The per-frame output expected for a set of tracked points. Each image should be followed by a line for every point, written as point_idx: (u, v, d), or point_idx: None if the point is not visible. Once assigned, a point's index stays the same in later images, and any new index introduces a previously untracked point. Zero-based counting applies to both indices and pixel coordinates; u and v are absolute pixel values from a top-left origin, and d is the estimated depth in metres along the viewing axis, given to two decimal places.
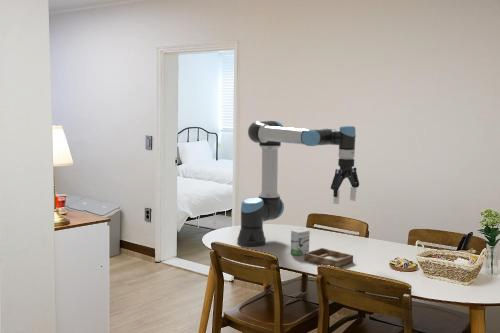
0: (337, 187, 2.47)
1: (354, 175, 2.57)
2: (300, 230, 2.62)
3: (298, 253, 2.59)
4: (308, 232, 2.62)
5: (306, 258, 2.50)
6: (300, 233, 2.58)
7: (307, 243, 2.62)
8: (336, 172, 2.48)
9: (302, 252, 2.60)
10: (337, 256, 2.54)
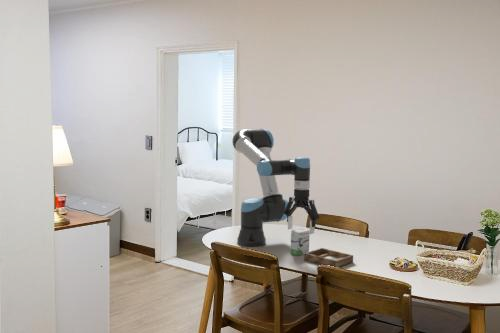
0: (287, 213, 2.65)
1: None
2: (300, 230, 2.62)
3: (298, 253, 2.59)
4: (308, 232, 2.62)
5: (306, 258, 2.50)
6: (300, 233, 2.58)
7: (307, 243, 2.62)
8: None
9: (302, 252, 2.60)
10: (337, 256, 2.54)
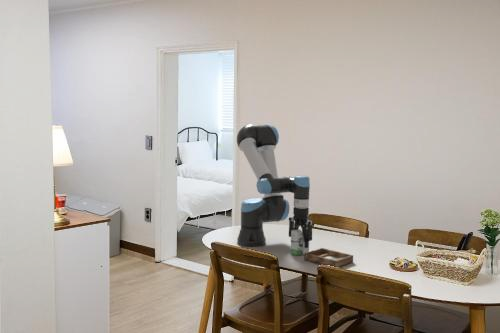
0: None
1: None
2: (300, 230, 2.62)
3: (298, 253, 2.59)
4: None
5: (306, 258, 2.50)
6: (300, 233, 2.58)
7: None
8: None
9: (302, 252, 2.60)
10: (337, 256, 2.54)
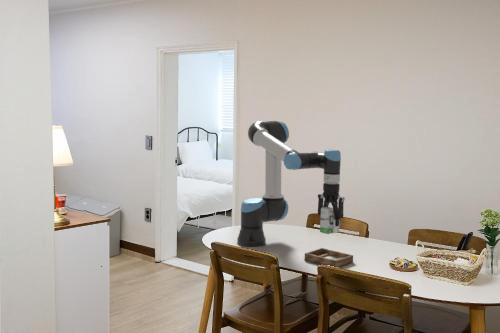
0: None
1: None
2: (330, 207, 2.47)
3: (328, 231, 2.44)
4: None
5: (306, 258, 2.50)
6: (330, 210, 2.44)
7: None
8: None
9: (332, 231, 2.46)
10: (337, 256, 2.54)
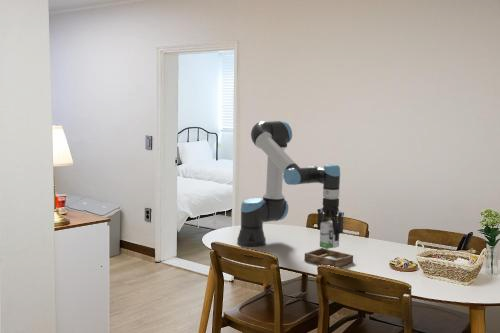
0: None
1: None
2: (330, 222, 2.48)
3: (328, 246, 2.45)
4: None
5: (306, 258, 2.50)
6: (330, 225, 2.45)
7: None
8: None
9: (332, 246, 2.47)
10: (337, 256, 2.54)
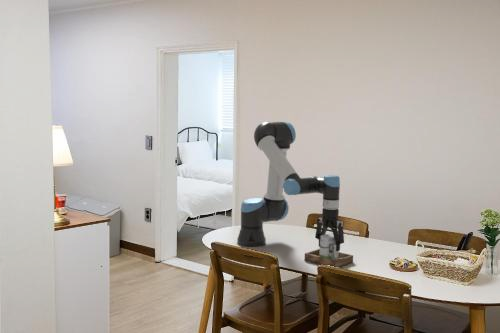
0: (318, 237, 2.52)
1: None
2: (330, 235, 2.49)
3: None
4: None
5: (306, 258, 2.50)
6: (330, 239, 2.45)
7: None
8: None
9: None
10: None
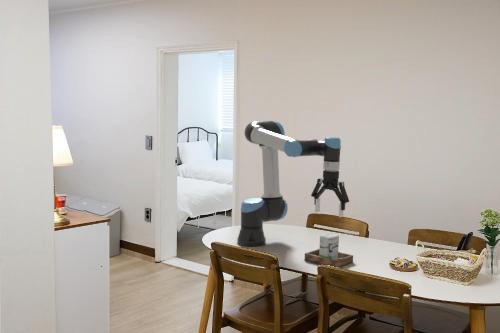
0: (314, 195, 2.54)
1: None
2: (329, 235, 2.49)
3: None
4: (337, 237, 2.49)
5: (306, 258, 2.50)
6: (330, 238, 2.46)
7: (336, 249, 2.49)
8: None
9: None
10: None
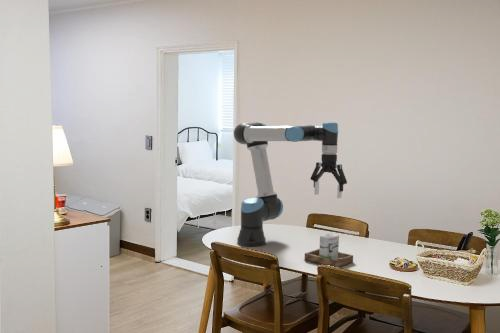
0: (314, 178, 2.66)
1: None
2: (329, 235, 2.49)
3: None
4: (337, 237, 2.49)
5: (306, 258, 2.50)
6: (330, 238, 2.46)
7: (336, 249, 2.49)
8: None
9: None
10: None
